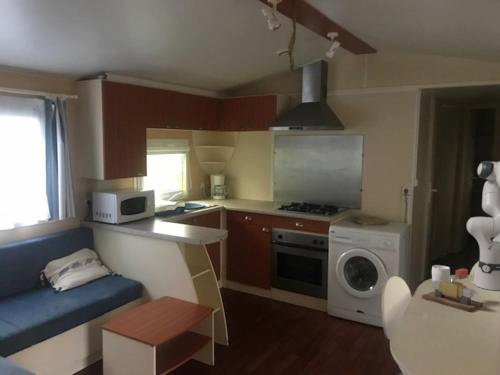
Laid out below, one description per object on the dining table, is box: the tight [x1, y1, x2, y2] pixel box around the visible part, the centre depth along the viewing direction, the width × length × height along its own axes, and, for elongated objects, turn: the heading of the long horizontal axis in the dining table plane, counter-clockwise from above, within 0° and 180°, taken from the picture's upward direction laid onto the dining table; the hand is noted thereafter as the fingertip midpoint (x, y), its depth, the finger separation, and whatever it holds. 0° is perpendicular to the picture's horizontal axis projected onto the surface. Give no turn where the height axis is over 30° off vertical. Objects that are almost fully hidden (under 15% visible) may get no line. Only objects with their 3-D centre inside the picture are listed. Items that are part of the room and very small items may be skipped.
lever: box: [450, 268, 469, 283], centre depth 201 cm, size 13×3×5 cm, turn 128°
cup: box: [431, 264, 451, 282], centre depth 220 cm, size 9×9×12 cm
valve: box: [432, 279, 474, 305], centre depth 198 cm, size 6×18×8 cm, turn 38°
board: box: [421, 290, 484, 313], centre depth 199 cm, size 14×23×2 cm, turn 38°
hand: (490, 250), depth 197 cm, fingers open, 8 cm apart
